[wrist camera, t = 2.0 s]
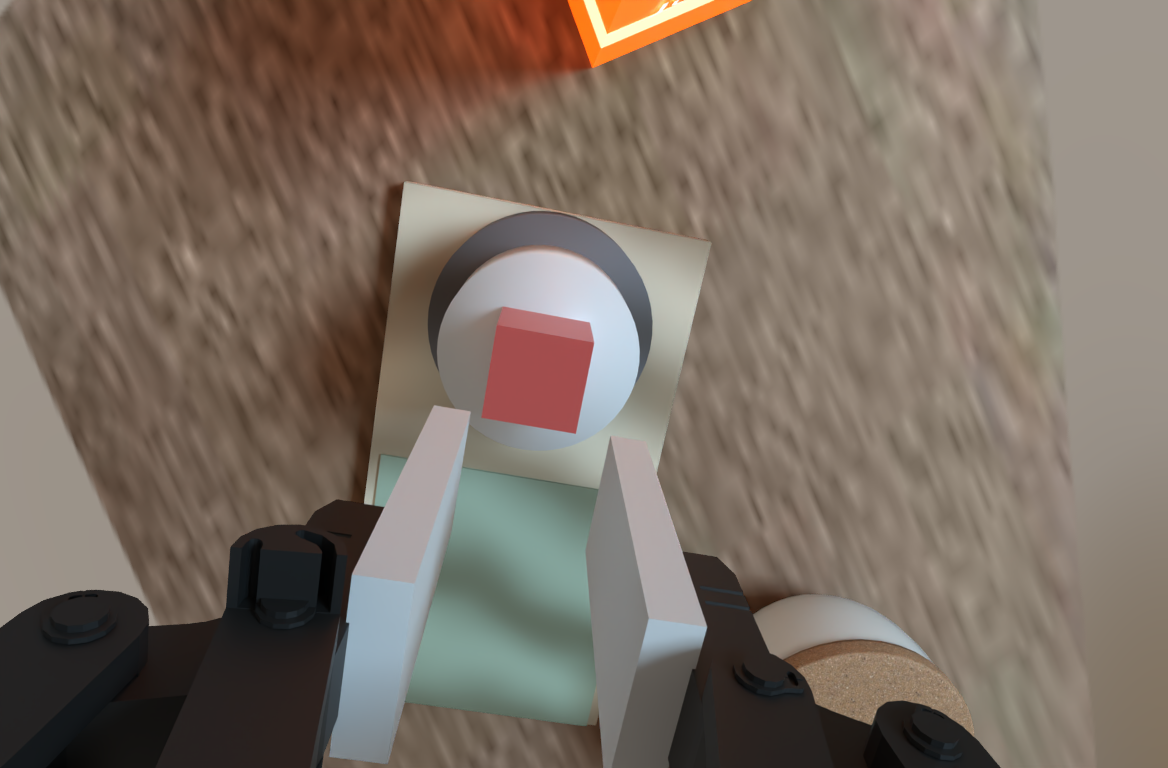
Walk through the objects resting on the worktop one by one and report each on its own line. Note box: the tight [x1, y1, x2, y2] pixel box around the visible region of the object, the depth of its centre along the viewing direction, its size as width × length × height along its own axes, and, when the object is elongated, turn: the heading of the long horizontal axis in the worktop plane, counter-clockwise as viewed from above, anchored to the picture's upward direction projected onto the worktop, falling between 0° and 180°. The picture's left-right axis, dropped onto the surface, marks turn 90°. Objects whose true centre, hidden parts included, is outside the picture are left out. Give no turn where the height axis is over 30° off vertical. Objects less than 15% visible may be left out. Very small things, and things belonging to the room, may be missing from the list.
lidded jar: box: [753, 594, 974, 737], centre depth 35 cm, size 11×11×9 cm
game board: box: [364, 181, 711, 726], centre depth 34 cm, size 25×13×4 cm, turn 169°
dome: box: [437, 245, 640, 451], centre depth 26 cm, size 7×7×6 cm
